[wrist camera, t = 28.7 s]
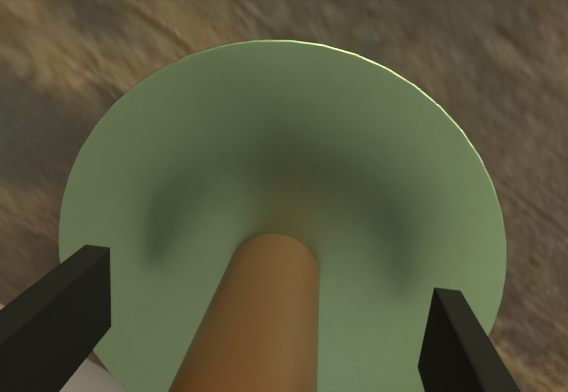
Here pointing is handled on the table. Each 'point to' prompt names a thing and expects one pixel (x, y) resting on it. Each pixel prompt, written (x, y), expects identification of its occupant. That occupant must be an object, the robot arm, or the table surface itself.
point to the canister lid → (280, 222)
